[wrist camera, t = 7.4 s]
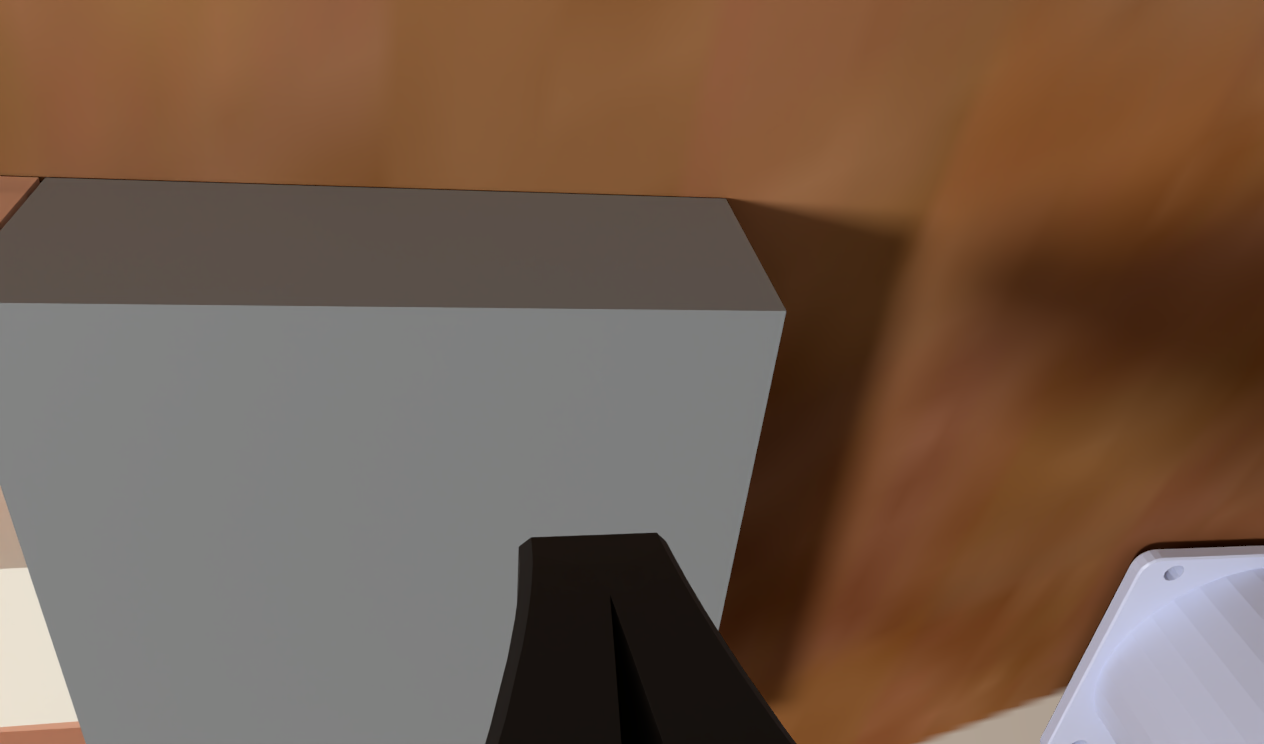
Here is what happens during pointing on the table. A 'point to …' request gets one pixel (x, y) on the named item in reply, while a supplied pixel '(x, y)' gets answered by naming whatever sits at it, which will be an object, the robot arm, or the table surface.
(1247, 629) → the robot arm
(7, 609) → the tile
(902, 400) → the table surface
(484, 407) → the grey rectangular block
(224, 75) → the table surface
